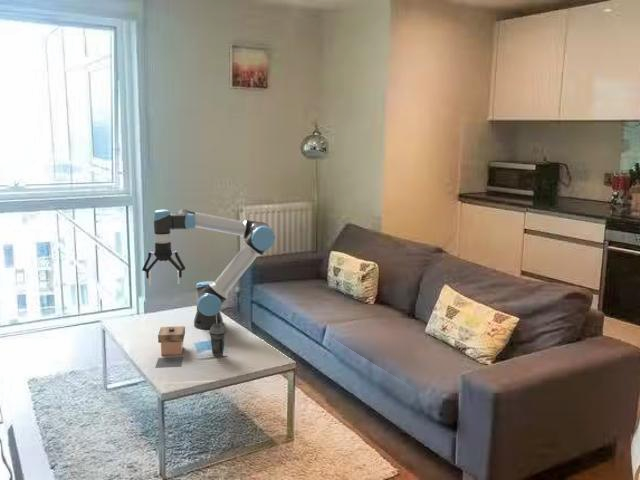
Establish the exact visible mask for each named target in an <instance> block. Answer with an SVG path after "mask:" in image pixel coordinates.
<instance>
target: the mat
mask: <svg viewBox="0 0 640 480" xmlns="http://www.w3.org/2000/svg"><path fill="white" fill-rule="evenodd" d="M183 360H184V356H173V357H172V356H171V357H169V356H168V357H158V358H157V361H156V363H155V369H158V368H159V369H161V368H181V367H182V365H183Z"/></svg>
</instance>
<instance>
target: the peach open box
mask: <svg viewBox="0 0 640 480" xmlns="http://www.w3.org/2000/svg"><path fill="white" fill-rule="evenodd" d="M183 350H184V341H183V342H164V343H160V353H161V354H160V356H174V355H175V356H176V355H178V356H179V355H182V354H183Z"/></svg>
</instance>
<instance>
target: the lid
mask: <svg viewBox="0 0 640 480" xmlns="http://www.w3.org/2000/svg"><path fill="white" fill-rule="evenodd" d="M185 335H186V326H185V325H182V326H161V327H160V329H159V331H158V334H157V343H159V344H161V343H164V342H183V343H184V339H185Z"/></svg>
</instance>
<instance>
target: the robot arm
mask: <svg viewBox="0 0 640 480" xmlns="http://www.w3.org/2000/svg"><path fill="white" fill-rule="evenodd" d="M195 228H198V229H205V230H208V231H215V232H220V233H225V234H231V235H236V236H240V237H241V239H244V240H243V246H242V247H241V248H240V250H239V251H238V252H237V253H236V255H235V256H234V257H233V258H232V260H231V261H230V262H229V263H228V264H227V266H226V267H225V268H224V269H223V271H222V272H221V273H220V275H219V276H218V277H217V278H216V279H215V281H200V282H197V283H196V284H195V285H196V287H195V289H196V290H195V293H196V296H195V297H196V312H195V316H194V318H193V319H194V320H193V326H194V327H195V328H196V329H202V330H210V328H211V326H212V325H213V324H216V314H217V323H220V324H222V325H223V326H224V319H223V316H222V314H221V309H222V305H223V304H224V303H225V302H226V300H227V299H228V293H229V292H230V291H231V290H232V288H233V287H234V286H235V284H236V283H237V282H238V280H239V279H240V278H241V277H242V276H243V275H244V273H245V272H247V270H248V268H249V267H251V265H252V263H254V261H255V259H256V258H257V257H261V256H263V255H264V254H265V253H266V251H267V250H269V249H271V248H272V247H273V245H274V244H275V241H276V235H275V232H274V231H273V228H271V227H270V226H269V224H268V223H266V222H262V221H256V220H248V219H245V220H238V219H233V218H227V217H223V216H217V215H211V214H208V213H202V212H196V211H191V210H188V209H185V208H181V209H179V210H178V211H176V213H171V212H170V210H168V209H157V210H154V212H153V230H154V231H153V232H154V233H153V234H154V235H153V237H154V251H148V253H147V254H148V256H147V259H146V261H145V263H144V265H143V266H142V269H141V271H143V272H145V274H146V276H145V277H146V279H148V285H149V286H152V271H151V269H152V268H153V267H154V266H155V264H156V263H157V262H163V261H164V262H167V261H169V262H170V264H172V265H173V267H175V269H177V275H176V276H177V285H180V282H181V281H180V279H181V278H182V276H183V271H185V270H186V266H185V265H184V263H183V261H182V259H181V257H180V256H179V252H178V250H175V251H172V243H171V238H172V237H171V235H172V234H171V231H172V230H194V229H195ZM172 255H173V256H174V257H175V258H176V261H177V262H178V263H177V262H176V261H175V260H174V259H173V257H172ZM153 256H154V257H155V259H154V260H153V261H152V262H151V264H150V265H149V263H150V261H151V259H152V257H153ZM148 265H149V266H148ZM147 266H148V267H147Z"/></svg>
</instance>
